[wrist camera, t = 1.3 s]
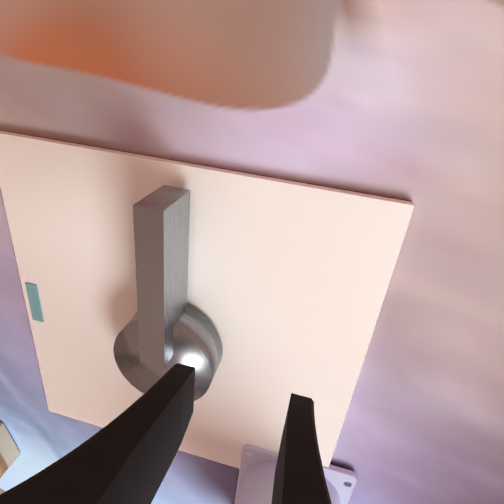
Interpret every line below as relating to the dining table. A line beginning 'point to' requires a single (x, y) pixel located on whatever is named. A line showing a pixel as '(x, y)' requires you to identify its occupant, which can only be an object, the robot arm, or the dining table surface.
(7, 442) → the skincare box
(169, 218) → the twist lock
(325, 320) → the base
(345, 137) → the dining table surface
